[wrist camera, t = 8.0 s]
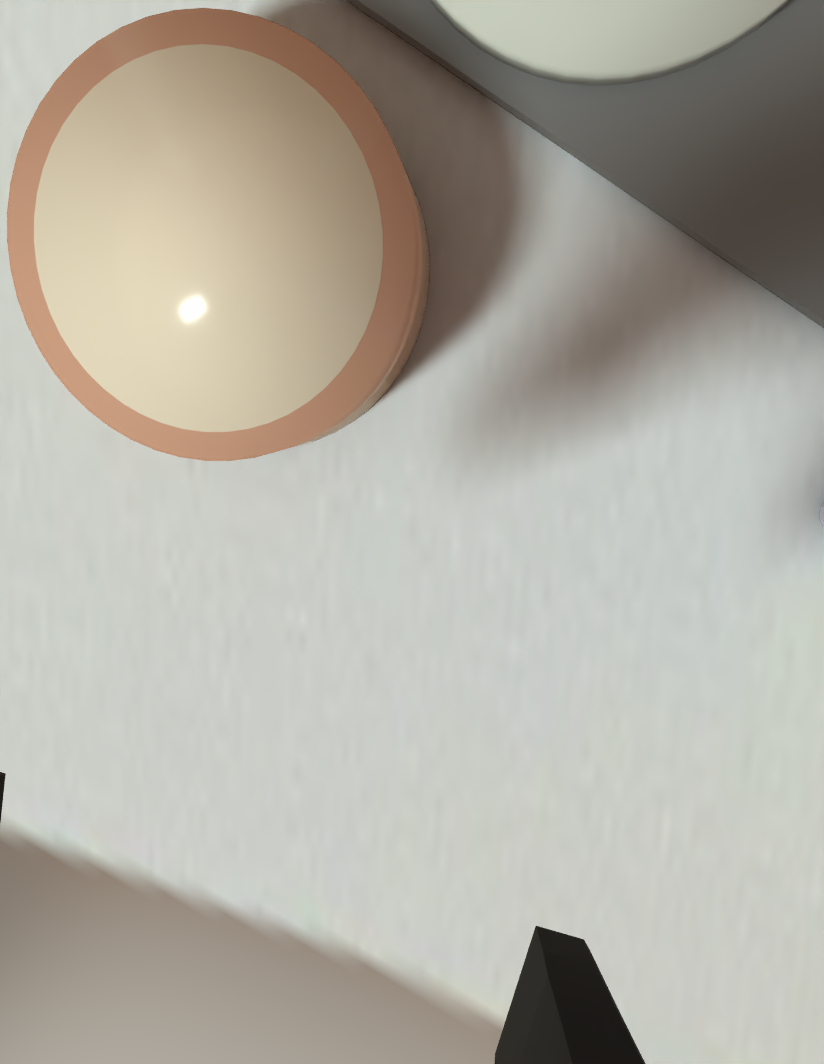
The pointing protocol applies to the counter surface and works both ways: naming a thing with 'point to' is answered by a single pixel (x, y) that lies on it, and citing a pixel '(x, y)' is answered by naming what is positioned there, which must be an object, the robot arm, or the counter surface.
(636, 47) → the lid
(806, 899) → the counter surface
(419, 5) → the mat
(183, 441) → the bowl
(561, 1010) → the robot arm
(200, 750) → the counter surface
